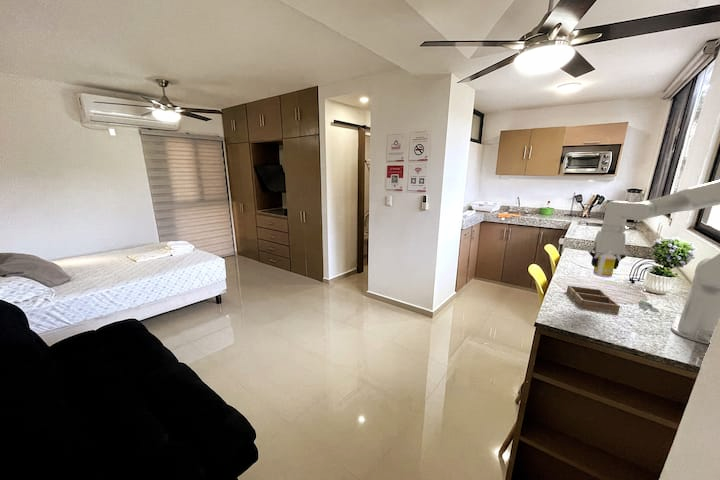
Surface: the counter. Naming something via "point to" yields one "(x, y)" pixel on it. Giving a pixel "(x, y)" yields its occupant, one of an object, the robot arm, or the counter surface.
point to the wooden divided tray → (592, 299)
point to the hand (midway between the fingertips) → (603, 266)
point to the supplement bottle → (605, 265)
